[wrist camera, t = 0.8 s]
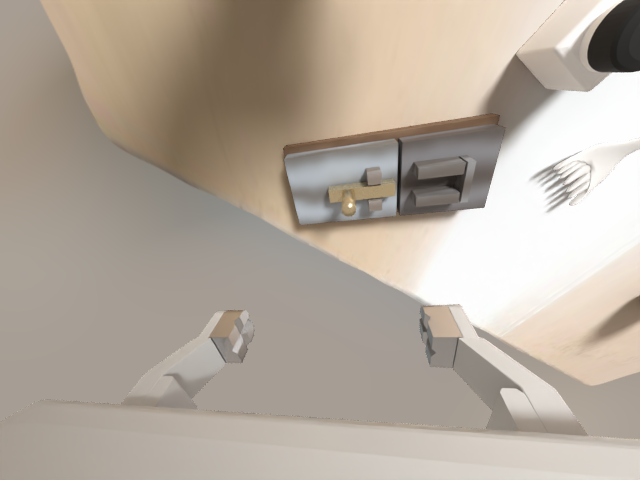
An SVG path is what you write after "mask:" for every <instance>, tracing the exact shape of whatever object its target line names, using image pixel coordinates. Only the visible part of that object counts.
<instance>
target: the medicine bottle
mask: <svg viewBox="0 0 640 480" xmlns="http://www.w3.org/2000/svg"><path fill="white" fill-rule="evenodd" d="M516 55H517V57H518V58H519V59H520V60H521V61H522V62H523V63H524V65H525V66H526V67H527V68H528V69H529V70H530V71H531V72H532V74H533V75H534V76H535V77H536V78H537V79H538V80H539V82H540V83H541V84H542V85H543V86H544V87H545V88H546V89H554V90H568V91H582V92H588V91H590V90H592V89H593V88H594V87H595V86H597V85H598V84H599V83H600V82H601V81H602V80H604V79H605V78H606V77H607V76H608V75H609V74H611V73H612V72H636V71H640V0H565V1H564V2H563V3H562V4H561V5H560V6H559V7H558V8H557V9H556V10H555V12H554V13H553V14H552V15H551V16H550V17H549V18H548V19H547V20H546V21H545V22H544V23H543V25H542V26H541V27H540V28H539V29H538V30H537V31H536V32H535V33H534V34H533V35H532V36H531V38H530V39H529V40H528V41H527V42H526V43H525V44H524V45H523V46H522V47H521V48H520V50H519V51H518V52H517V54H516Z"/></svg>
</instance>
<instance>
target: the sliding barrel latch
mask: <svg viewBox="0 0 640 480" xmlns="http://www.w3.org/2000/svg"><path fill="white" fill-rule="evenodd" d="M499 117H500V115H496V114H486V115H480V116H473V117H467V118H461V119H454V120H448V121H441V122H435V123H428V124H422V125H415V126H409V127H403V128H396V129H390V130H383V131H377V132H370V133H364V134H357V135H351V136H344V137H338V138H332V139H325V140H319V141H312V142H306V143H299V144H293V145H286V146H285V147H284V148H283V150H284V154H285V159H284V163H285V167H286V171H287V175H288V179H289V183H290V187H291V191H292V195H293V199H294V203H295V207H296V211H297V215H298V219H299V223H300V225H305V224H315V223H326V222H336V221H347V220H358V219H368V218H379V217H390V216H396V212H399V215H411V214H422V213H432V212H443V211H453V210H464V209H475V208H484V207H485V203H486V199H487V195H488V192H489V188H490V184H491V181H492V177H493V173H494V169H495V166H496V162H497V158H498V154H499V151H500V147H501V143H502V140H503V136H504V132H505V127H502V126H499V125H498V121H499ZM385 179H394V181H395V196H390V197H380V198H371V199H362V200H355V201H356V213H355V214H354V215H353V216H351V217H347V216H344V215H343V214H342V202H334V203H330V198H329V192H328V191H329V186H335V185H344V184H352V183H360V182H367V183H368V185H376V184H382V180H385Z"/></svg>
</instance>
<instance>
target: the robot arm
mask: <svg viewBox="0 0 640 480" xmlns="http://www.w3.org/2000/svg"><path fill="white" fill-rule="evenodd" d="M420 313H421V317H422V318H421V319H420V333H421V338H422V341H423V343H424V344H425V345H426V355H427V358H428V362H429V365H430V367H443V368H453V370H454V371H455V372H456V373H457V374H458V375H459V376H460V377H461V378H462V379H463V380H464V381H465V382H466V383H467V385H469V387H470V388H471V389H472V390H473V391H474V392H475V393H476V394H477V395H478V396H479V397H480V398H481V399H482V400H483V401H484V403H485V404H486V405H487V406H488V407H489V408H490V409H491V410H492V414H491V416H490V419H489V422H488V424H487V427H486V429H477V428H462V427H447V426H446V427H445V426H433V425H417V424H403V423H388V422H373V421H359V420H345V419H330V418H316V417H300V416H285V415H271V414H255V413H241V412H226V411H212V410H197V405H196V404H195V403H194V402H193V400H192V398H193V397H194V396H195V395H196V394H197V393H198V392H199V391H200V390H201V389H202V388H203V387H204V385H206V383H208V382H209V381H210V380H211V379H212V378H213V377H214V376H215V375H216V373H217V372H218V371H219V370H220V369H221V368H222V367H223V366H224V365H225V364H226V363H242V362H243V359H244V357H245V355H246V353H247V350H248V349H247V345H248V344H249V343H250V342H251V341H252V338H253V336H254V325H253V322H251V321H250V320H249V319H248V318H249V314H248V312H247V311H245V310H244V311H243V310H238V311H236V310H228V311H217V312H215V314H214V315H213V316H212V318H211V319H210V321H209V322H208V324H207V325H206V327H205V328H204V330H203V331H202V333H201V334H200V335H199V337H198V338H194V339H193V340H191V341H190V342H189V343H187V344H186V345H184V346H183V347H182V348H180V349H179V350H177V351H176V352H175V353H173V354H172V355H170V356H169V357H168V358H166V359H165V360H163V361H162V362H161V363H159V364H158V365H156V366H155V367H153V368H152V369H151V370H149V371H148V372H146V373H145V374H144V375H143V376H142V378H141V379H140V380H139V382H138V383H137V384H136V385H135V387H134V388H133V389H132V391H131V392H130V393H129V394H128V396H127V397H126V398H125V399H124V401H123V402H122V403H121V404H108V403H94V402H78V401H65V400H51V399H47V400H41V401H38V402H35V403H33V404H31V405H29V406H28V407H25V408H24V409H22V410H20V411H18V412H16V413H14V414H13V415H11V416H9V417H7V418H6V419H4V420H2V421H1V422H0V480H640V439H626V438H609V437H596V436H588V434H587V433H586V432H585V430H584V429H583V427H582V426H581V424H580V423H579V422H578V421H577V419H576V417H575V416H574V415H573V413H572V412H571V410H570V409H569V408H568V406H567V405H566V403H565V402H564V401H563V399H562V398H561V396H560V395H559V393H558V392H557V391H556V389H554V388H553V387H552V386H550V385H549V384H547V383H546V382H545V381H543V380H542V379H540V378H539V377H537V376H536V375H535V374H533V373H532V372H531V371H529V370H528V369H526V368H525V367H524V366H522V365H521V364H519V363H518V362H516V361H515V360H514V359H512V358H511V357H509V356H508V355H506V354H505V353H503V352H502V351H501V350H499V349H498V348H497V347H495V346H494V345H493V344H491V343H489V342H488V341H487V340H485V339H484V338H479V337H478V335H477V334H476V332H475V330H474V328H473V326H472V324H471V322H470V321H469V319H468V317H467V315H466V313H465V311H464V310H463V308H462V306H461V305H459V304H458V305H428V306H421V308H420Z"/></svg>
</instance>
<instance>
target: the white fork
mask: <svg viewBox="0 0 640 480" xmlns="http://www.w3.org/2000/svg"><path fill="white" fill-rule="evenodd" d="M638 149H640V138H637V139H633V140H629V141H623V142H614V143H601V144H597V145H594V146H592V147H589V148H587V149H585V150H583V151H581V152H579V153H577V154H575V155H573V156H571V157H569V158H568V159H566V160H564V161H562V162H560V163H559V164H557V165H556V166H555V167H554V168H553V170H558V169H560V168H562V167H563V168H562V169H561V170H559V172H558V173H557V175H558V174H561V173H563V172H564V173H563V174H562V175H561V176H560V178H559V179H562V178H564V177H566V176H567V175H569V174H570V173H572V172H573V173H572V174H571V175H570V176H569V177H568V178H567V179H566V180H565V182H564V183H563V185H567V184H569V183H571V182H572V181H574V180H575V179H577V178H578V179H577V180H576V181H575V182H574V183H573V184H572V185H571V186H570V187H569V188H568V189H567V190H566V193H568V192H570V191H572V190H573V189H575V188H576V189H575V190H574V191H573V192H572V193H571V194H570V195H569V196H568V198H572V197H574V196H576V195H577V196H576V197H575V198H574V199H573V200H572V201H571V202H570V203H569V205H571V206H572V205H576V204H578V203H579V202H580V201H582V200H583V199H584V198H585V197H586V196H587V195H588V194H589V193H590V192H591V191H592V190H593V189H594V188H595V187H596V186H597V185H598V184H599V183H600V182H602V181H603V180H604V179H605V178H606V177H607V176H608V175H609V174H610V173H611V172H612V170H613V169H614V168H615V167H616V165H617V164H618V163H619V162H620V161H621V160H622V159H623V158H624V157H626V156H627V155H629V154H630V153H632V152H634V151H636V150H638Z"/></svg>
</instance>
